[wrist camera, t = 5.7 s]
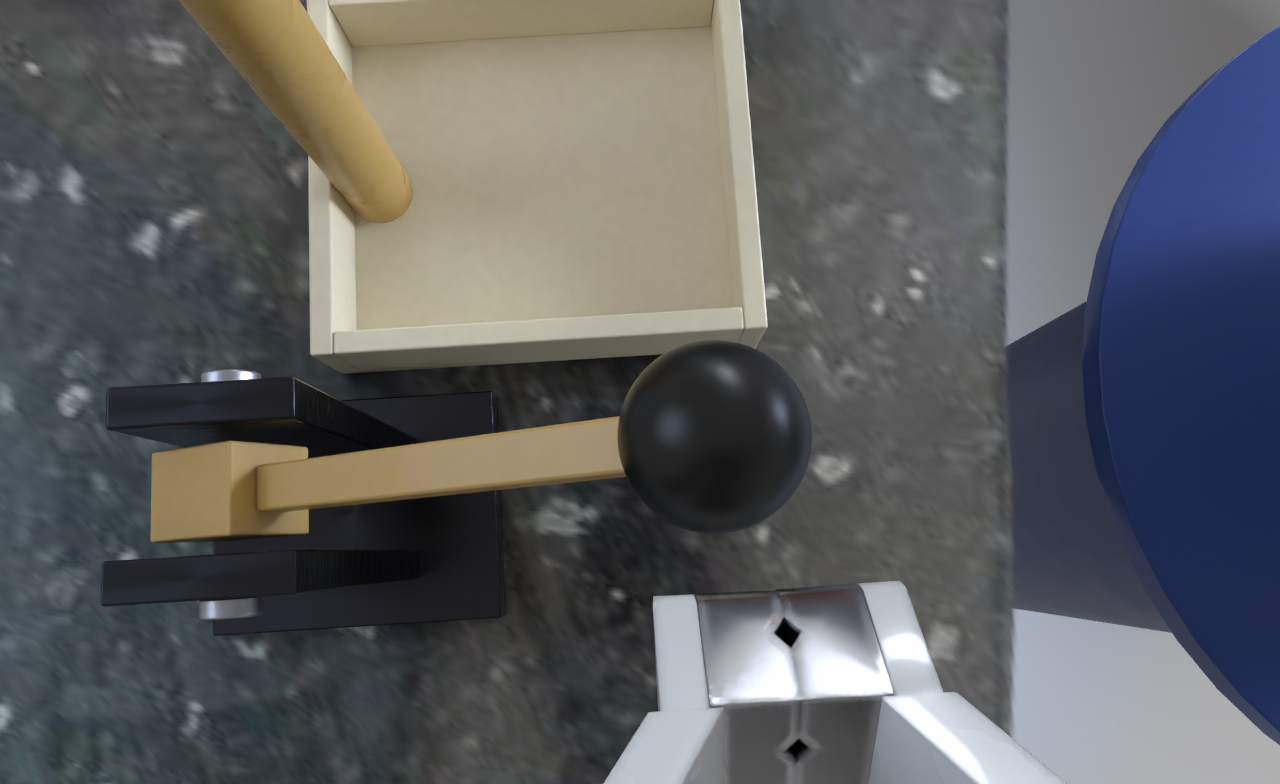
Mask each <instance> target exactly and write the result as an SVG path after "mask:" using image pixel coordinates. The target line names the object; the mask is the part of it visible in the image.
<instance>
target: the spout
mask: <svg viewBox="0 0 1280 784" xmlns="http://www.w3.org/2000/svg"><path fill="white" fill-rule="evenodd" d="M179 1H180V3H181V4H182V5H183V6H184V7H185V9H186V10H187V11H188V12H189V13H190V15H191V16H192V17H193V18H194V19H195V21H196V22H197V23H198V24H199V25H200V27H201V28H202V29H203V30H204V31H205V32H206V34H207V35H208V36H209V37H210V38H211V40H212V41H213V42H214V43H215V44H216V46H217V47H218V48H219V49H220V50H221V52H222V53H223V54H224V55H225V56H226V58H227V59H228V60H229V61H230V62H231V64H232V65H233V66H234V67H235V68H236V69H237V71H238V72H239V73H240V74H241V75H242V77H243V78H244V79H245V80H246V81H247V83H248V84H249V85H250V86H251V87H252V89H253V90H254V91H255V92H256V93H257V95H258V96H259V97H260V98H261V99H262V101H263V102H264V103H265V104H266V105H267V106H268V108H269V109H270V110H271V111H272V112H273V114H274V115H275V116H276V117H277V118H278V120H279V121H280V122H281V123H282V124H283V126H284V127H285V128H286V129H287V130H288V132H289V133H290V134H291V135H292V136H293V138H294V139H295V140H296V141H297V142H298V144H299V145H300V146H301V147H302V148H303V149H304V151H305V152H306V153H307V154H308V155H309V157H310V158H311V159H312V160H313V161H314V163H315V164H316V165H317V166H318V167H319V169H320V170H321V171H322V172H323V173H324V175H325V176H326V177H327V178H328V179H329V181H330V182H331V183H332V184H333V185H334V186H335V188H336V189H337V190H338V191H339V192H340V194H341V195H342V196H343V197H344V198H345V200H346V201H347V202H348V203H349V204H350V206H351V207H352V208H353V209H354V210H355V212H356V213H357V214H358V215H359V216H360V217H362V218H363V219H365V220H367V221H370V222H373V223H387V222H390V221H393V220H395V219H397V218H399V217H400V216H401V215H402V214H404V213H405V211H406V210H407V209H408V207H409V205H410V203H411V200H412V196H413V187H412V183H411V181H410V178H409V177H408V175H407V173H406V172H405V170H404V169H403V167H402V165H401V164H400V162H399V160H398V159H397V157H396V156H395V154H394V152H393V151H392V149H391V148H390V146H389V144H388V143H387V141H386V139H385V138H384V136H383V135H382V133H381V131H380V130H379V128H378V127H377V125H376V123H375V122H374V120H373V118H372V117H371V115H370V114H369V112H368V110H367V109H366V107H365V105H364V104H363V102H362V101H361V99H360V97H359V96H358V94H357V93H356V91H355V89H354V88H353V86H352V84H351V83H350V81H349V80H348V78H347V76H346V75H345V73H344V72H343V70H342V68H341V67H340V65H339V63H338V62H337V60H336V59H335V57H334V55H333V54H332V52H331V50H330V49H329V47H328V46H327V44H326V42H325V41H324V39H323V38H322V36H321V34H320V33H319V31H318V29H317V28H316V26H315V25H314V23H313V21H312V20H311V18H310V16H309V15H308V13H307V12H306V10H305V8H304V7H303V5H302V4H301V2H300V0H179Z"/></svg>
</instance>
